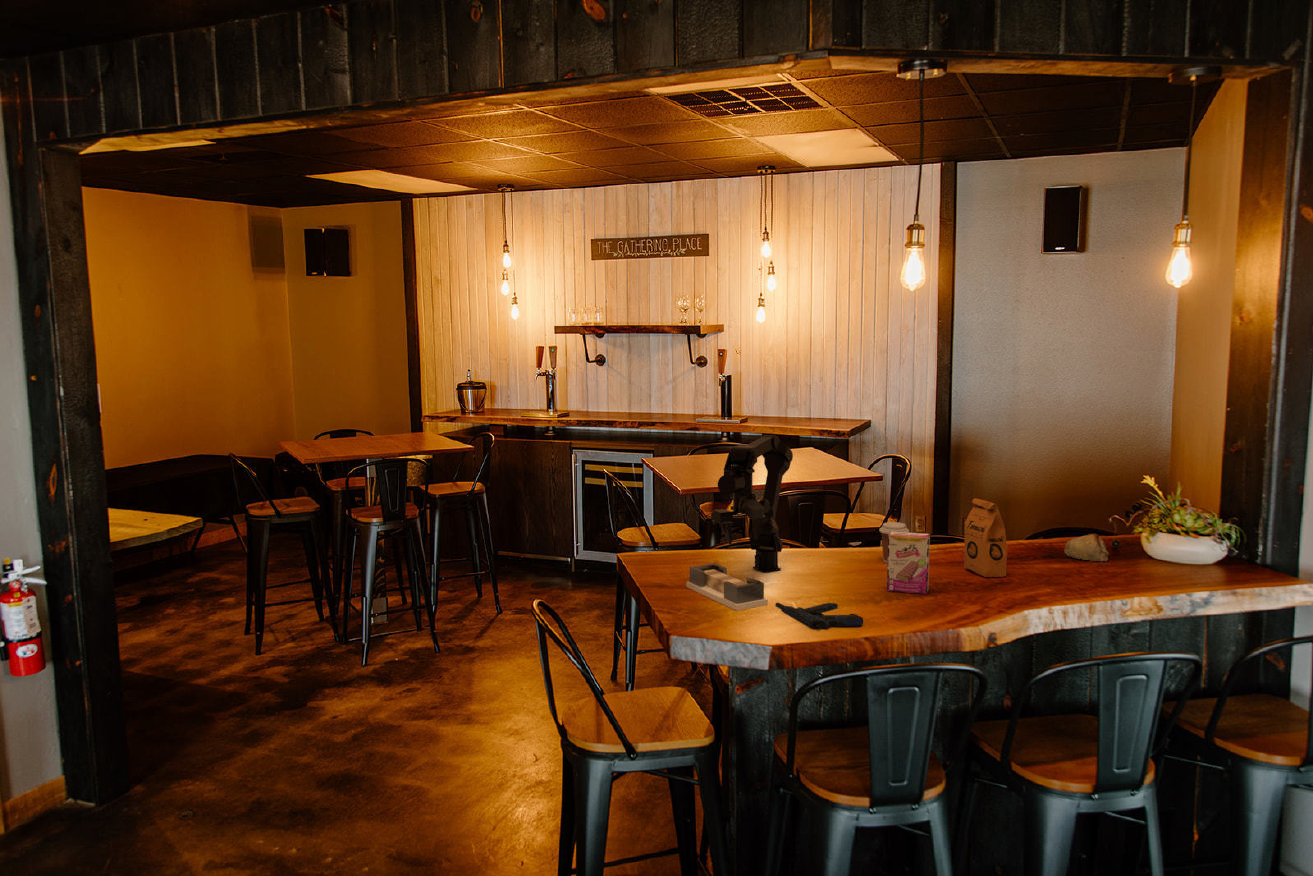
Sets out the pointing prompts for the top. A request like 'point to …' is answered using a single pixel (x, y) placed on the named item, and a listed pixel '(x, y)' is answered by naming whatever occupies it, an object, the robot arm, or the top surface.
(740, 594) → the end caps
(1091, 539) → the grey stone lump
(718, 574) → the beige rectangular bar
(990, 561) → the coffee package
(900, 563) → the candy bar box
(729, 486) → the robot arm
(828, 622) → the gun
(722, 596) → the end-cap board
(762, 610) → the top surface
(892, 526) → the coffee cup
